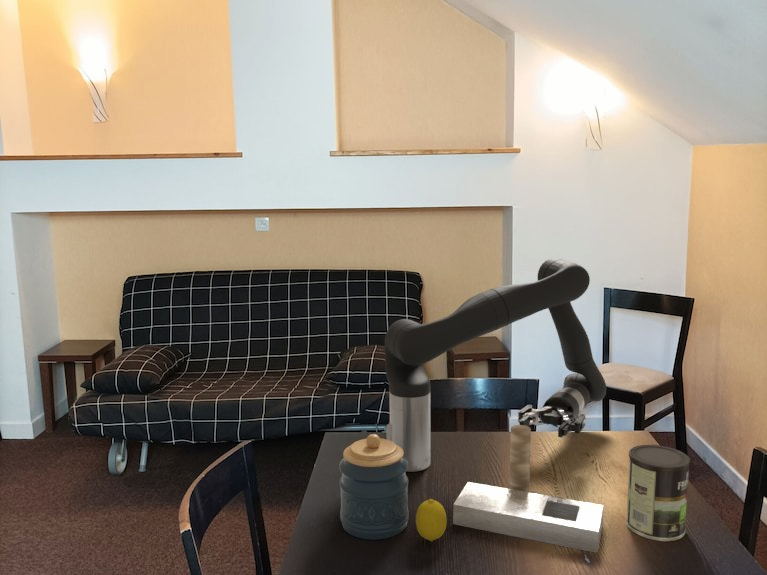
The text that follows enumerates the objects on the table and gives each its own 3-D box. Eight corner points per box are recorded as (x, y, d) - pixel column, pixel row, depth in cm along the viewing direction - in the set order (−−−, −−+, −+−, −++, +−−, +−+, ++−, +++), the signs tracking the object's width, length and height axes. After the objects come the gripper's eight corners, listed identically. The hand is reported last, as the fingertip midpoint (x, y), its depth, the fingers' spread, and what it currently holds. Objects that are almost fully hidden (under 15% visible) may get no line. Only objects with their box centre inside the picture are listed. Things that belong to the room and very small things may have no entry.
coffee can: (689, 521, 123) (693, 450, 121) (681, 547, 114) (685, 472, 112) (631, 508, 128) (635, 440, 126) (619, 532, 120) (623, 459, 117)
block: (453, 524, 123) (453, 504, 122) (467, 500, 132) (467, 481, 132) (597, 553, 113) (598, 531, 112) (602, 525, 122) (603, 505, 121)
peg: (507, 495, 134) (508, 430, 132) (511, 487, 138) (513, 423, 135) (527, 498, 132) (528, 433, 130) (530, 490, 136) (532, 426, 134)
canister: (396, 546, 116) (395, 452, 113) (329, 535, 120) (327, 444, 117) (416, 511, 128) (416, 426, 125) (355, 502, 132) (353, 419, 129)
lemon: (449, 535, 119) (449, 494, 118) (442, 551, 114) (442, 509, 113) (420, 530, 121) (420, 490, 120) (411, 546, 116) (411, 504, 115)
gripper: (535, 387, 159) (510, 407, 146) (594, 396, 152) (573, 418, 138) (535, 416, 160) (509, 439, 147) (594, 427, 153) (572, 452, 139)
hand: (540, 429), depth 143 cm, fingers open, 8 cm apart
